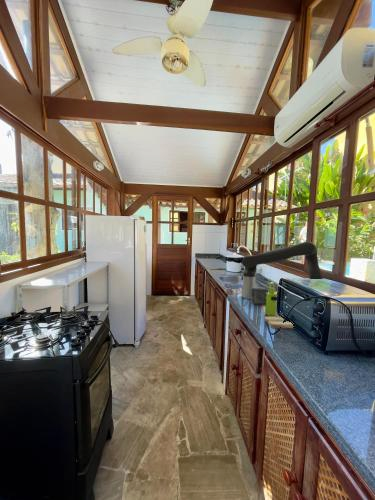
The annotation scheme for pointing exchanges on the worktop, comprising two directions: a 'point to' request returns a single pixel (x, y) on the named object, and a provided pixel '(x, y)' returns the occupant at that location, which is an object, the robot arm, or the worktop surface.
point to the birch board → (277, 322)
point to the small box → (259, 295)
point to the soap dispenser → (269, 303)
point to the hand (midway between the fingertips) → (268, 296)
